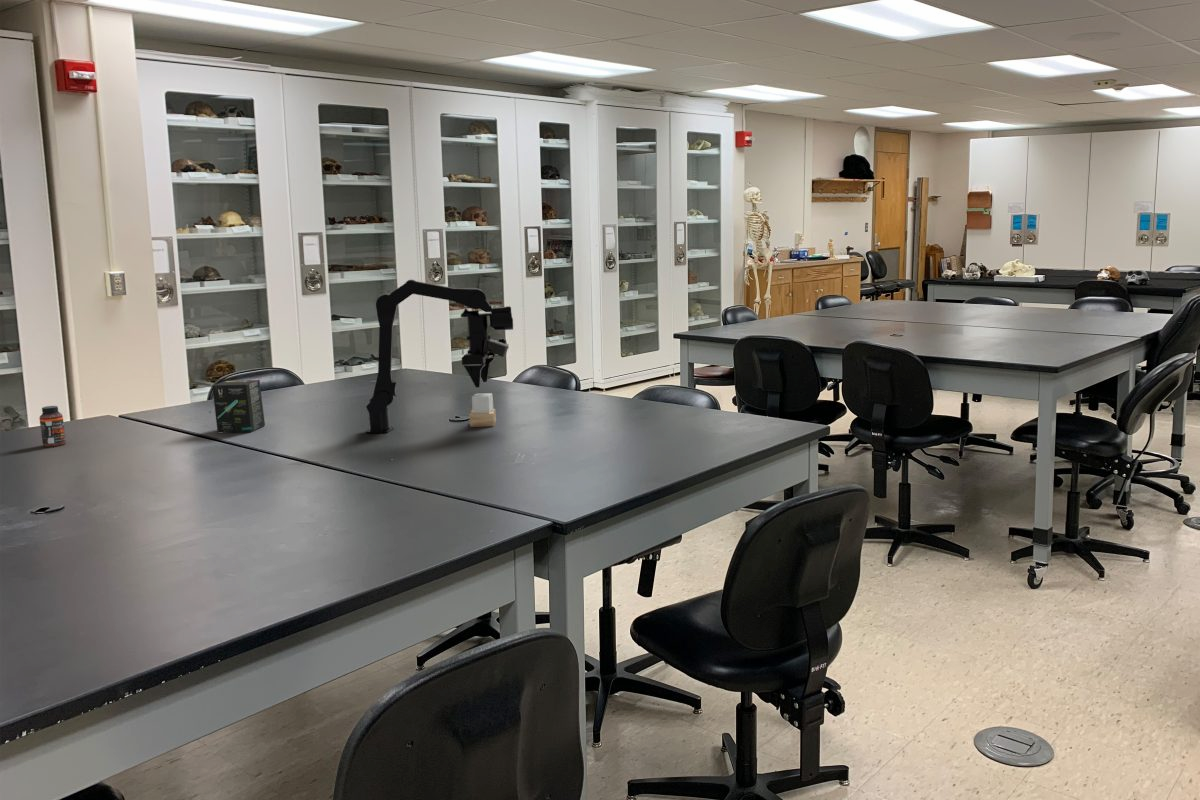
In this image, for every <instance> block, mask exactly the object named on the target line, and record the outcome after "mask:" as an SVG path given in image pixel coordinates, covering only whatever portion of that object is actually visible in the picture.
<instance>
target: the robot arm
mask: <svg viewBox="0 0 1200 800" xmlns="http://www.w3.org/2000/svg"><path fill="white" fill-rule="evenodd" d="M412 295H418V296H422V297H429V298H434V299H440V300H445V301H451V302H454V303H457V304H458V305H462V306H465V307H467V308H470V309H472V310H468V309H467V308H464V310H463V312H461V313H460V318H466V322H467V334H468V335H467V336H466V341H468V350H467V353H465V354H464V355H463V356H462V357H461V365H462V366H463V368H464V369H465V370H466V372H467V374H468V376H469V377H470V379H471V381H472V383H473V385H474V387H475V388H480V387H481V381H482V382H483V383H487V382H488V378H489V371H490V367H491V363H492V362H494V360H495V359H496V357H497V356H499V357H502V358H503V357H505V356H507V352H508V350H509V343H507V339H506V338H503V337H501V338H499V339H498V340H497V339H492V335H491V334H490V333H489V330H488V329H489V328H492V329H493V331H494V332H495V331H497V332H498V331H511V330H514V319H513V314H512V307H511V306H510V305H509V306H502V307H492V305H491V304H490V303H488V301H487V298H486V294H485V293H484V291H483V290H482V289H480V288H479V287H478V288H477V287H450V286H446V285H445V286H444V285H439V284H434V283H428V282H423V281H417V280H415V279H407V281H405V282H404V283H403V284H402V285H400V286H399V287H397V288H396V289H395V290H393V291H392V292H390V293H387V292H386V293H383V294H381V295H380V296H379V297H377V300H375V301H376V302H375V308H376V309H375V310H376V315H377V319H378V320H377V322H378V325H379V330H378V331H379V334H378V361H377V362H378V367H377V369H378V370H377V372H378V373H377V378H376V382H375V386H374V391H373V395H372V397H371V398H370V399H369V401H367V404H366V410H367V413H368V425H369V426H368V427H369V429H366V431H365V434H370V433H372V434H378V433H379V434H382V433H383V434H386V433H389V432H391V430H394V426H390V417H389V416H390V414H389V413H390V412H389V409H388V406H389V405H390V404H392V403H393V401H394V398H395V397H397V394H398V390H397V383H398V379H397V378H395V379H393V375H392V359H393V358H392V356H393V334H394V333H393V327H394V322H395V318H396V315H397V310H398V305H399V304H401V303H402V302H403V301H405V300H406V299H408V298H410V297H411V296H412ZM479 309H480V310H481V311H483V312H484V313H479V311H480V310H479ZM488 321H489V326H488ZM488 327H489V328H488Z"/></svg>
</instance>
